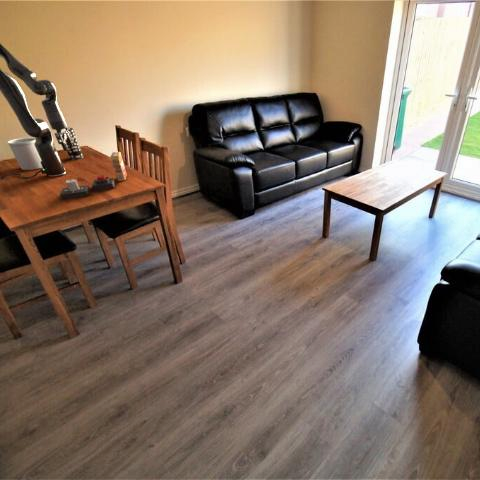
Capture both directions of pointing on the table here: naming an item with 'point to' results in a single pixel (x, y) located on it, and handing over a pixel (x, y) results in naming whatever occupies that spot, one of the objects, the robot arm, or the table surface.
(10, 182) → the table surface
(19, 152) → the utensil holder
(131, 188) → the table surface
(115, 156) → the candy box
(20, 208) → the table surface
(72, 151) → the spotted tube
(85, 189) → the dial panel
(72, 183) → the dial
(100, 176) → the power button
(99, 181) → the button housing
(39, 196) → the table surface
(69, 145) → the robot arm
